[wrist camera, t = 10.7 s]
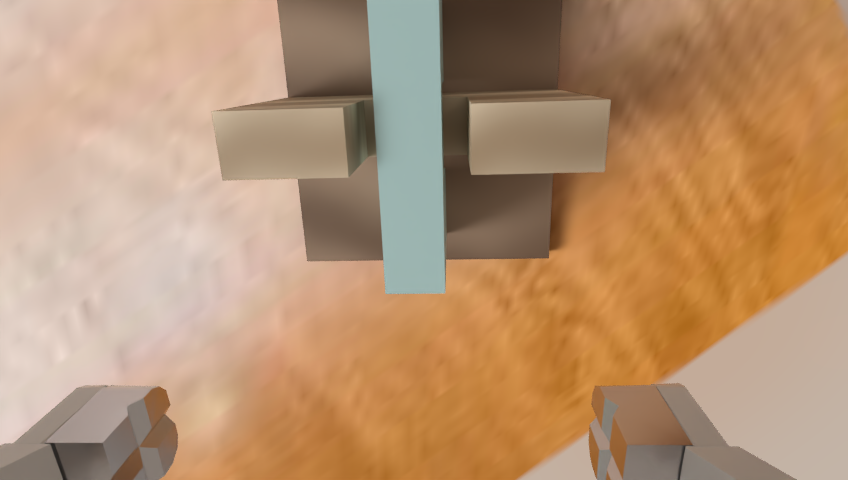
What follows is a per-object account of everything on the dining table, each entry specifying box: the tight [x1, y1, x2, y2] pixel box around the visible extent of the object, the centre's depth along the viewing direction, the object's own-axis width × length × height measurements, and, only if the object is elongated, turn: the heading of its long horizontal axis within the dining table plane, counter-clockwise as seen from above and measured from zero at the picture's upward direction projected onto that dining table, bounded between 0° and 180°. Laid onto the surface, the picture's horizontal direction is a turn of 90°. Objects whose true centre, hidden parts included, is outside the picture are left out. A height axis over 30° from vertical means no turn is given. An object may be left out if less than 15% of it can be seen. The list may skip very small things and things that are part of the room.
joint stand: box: [211, 0, 611, 261], centre depth 23 cm, size 16×14×10 cm
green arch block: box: [367, 0, 447, 294], centre depth 23 cm, size 12×2×8 cm, turn 2°
